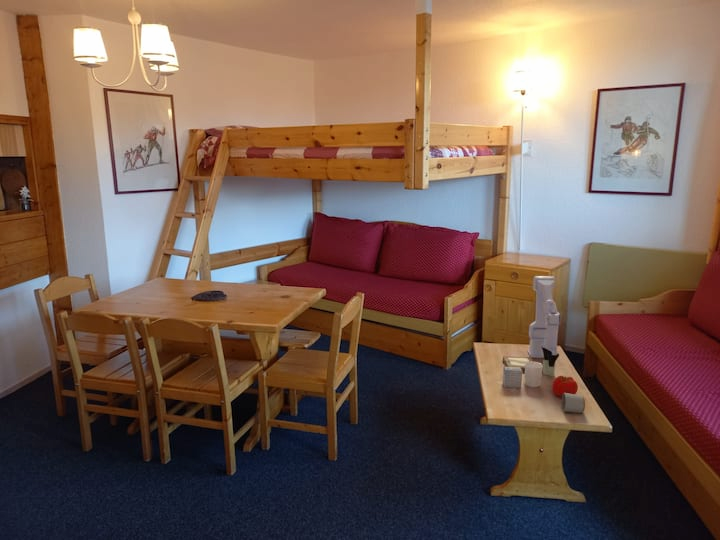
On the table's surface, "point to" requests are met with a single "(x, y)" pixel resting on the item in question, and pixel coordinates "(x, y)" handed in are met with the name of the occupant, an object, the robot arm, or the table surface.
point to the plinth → (516, 362)
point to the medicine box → (512, 377)
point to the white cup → (533, 373)
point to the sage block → (547, 368)
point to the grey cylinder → (573, 403)
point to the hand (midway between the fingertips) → (548, 363)
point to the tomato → (564, 386)
